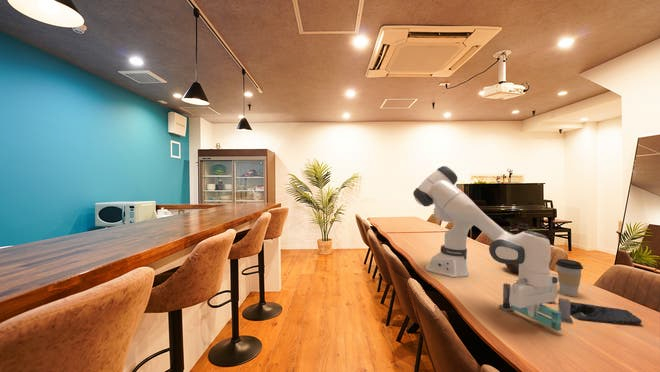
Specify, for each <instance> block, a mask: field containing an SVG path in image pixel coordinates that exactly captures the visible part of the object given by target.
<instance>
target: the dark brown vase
mask: <svg viewBox="0 0 660 372" xmlns="http://www.w3.org/2000/svg"><path fill="white" fill-rule="evenodd" d="M517 224H518V225H516V228H518V229H517V231H518V232H517V234H519V233H521V232H523V231H529V224H528V223H523V222H522V223H521V222H520V223H517ZM505 266H506V267H507V268H508V270H510V271H511V272H513V273H515V274H518V275H519V265H518V264H505Z"/></svg>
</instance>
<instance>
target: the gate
mask: <svg viewBox="0 0 660 372" xmlns="http://www.w3.org/2000/svg"><path fill="white" fill-rule="evenodd" d="M510 306H511V309H513V310H514V312H517V313H519V314H521V315H524V316H525V317H528V318H530V319H532V320H534V321H536V322H538V323H539V324H542V325H544V326H546V327H548V328H551V329H552V330H553V331H556V332H558V331H559V332H560V331H562V321H561V312H559V311H558V309H557V310H556V309H554V308H551V307H549V306H546V305H544V304H540V307H539V309H538V311H537V316H535V317H531V316H529V315H528V310H527V307H525V308H517V307H515V306H513V305H511V304H510Z"/></svg>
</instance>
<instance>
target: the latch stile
mask: <svg viewBox="0 0 660 372" xmlns="http://www.w3.org/2000/svg"><path fill="white" fill-rule="evenodd" d="M571 302H572V301H571V300H570V299H568V298H564V297H558V303H559V304H558V309H557V311H559V312H561V322H565V323H569V324H574V321H573V319H572V317H571V315H570V307H571Z"/></svg>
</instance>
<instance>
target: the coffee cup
mask: <svg viewBox="0 0 660 372" xmlns="http://www.w3.org/2000/svg"><path fill="white" fill-rule="evenodd" d="M555 265H556V266H557V277H558V278H559V281H558V284H559V292H560V293H561V294H562V295H564V296H569V297H577V296H578V294H579V293H578V291H579V287H580V283H581V277H582V270H584V266H583V265H582V263H581V262H579V261H576V260H572V259H567V258H566V259H565V258H559V259H557V261H555Z"/></svg>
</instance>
